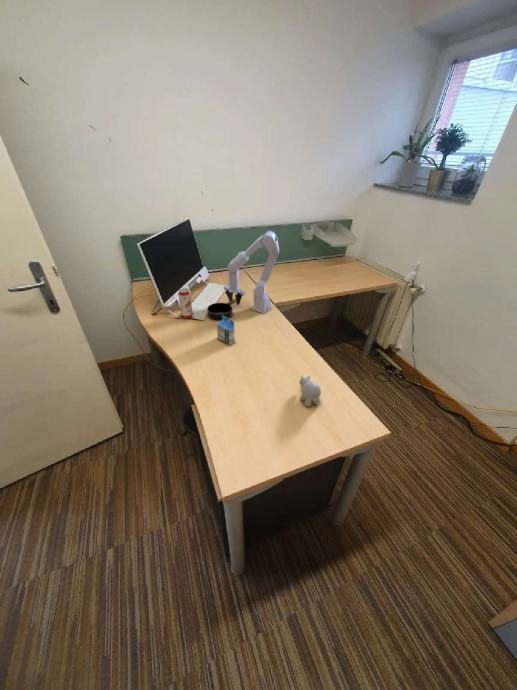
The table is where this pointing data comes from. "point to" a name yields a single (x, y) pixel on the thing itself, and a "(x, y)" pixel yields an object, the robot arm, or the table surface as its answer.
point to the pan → (220, 310)
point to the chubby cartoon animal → (309, 391)
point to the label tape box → (226, 330)
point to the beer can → (185, 303)
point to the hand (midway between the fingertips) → (234, 303)
